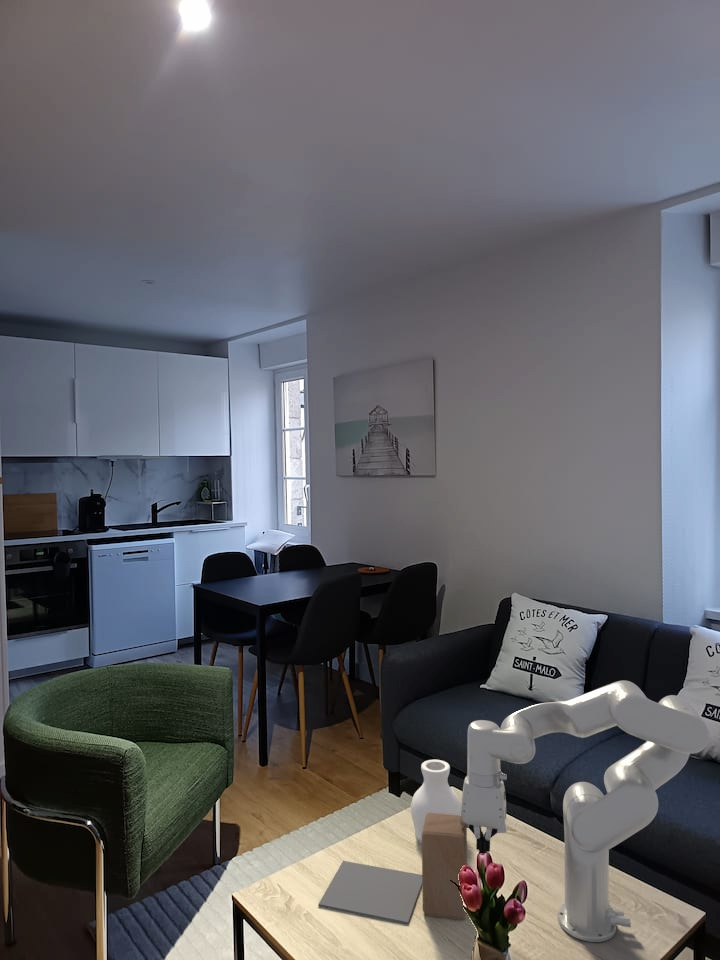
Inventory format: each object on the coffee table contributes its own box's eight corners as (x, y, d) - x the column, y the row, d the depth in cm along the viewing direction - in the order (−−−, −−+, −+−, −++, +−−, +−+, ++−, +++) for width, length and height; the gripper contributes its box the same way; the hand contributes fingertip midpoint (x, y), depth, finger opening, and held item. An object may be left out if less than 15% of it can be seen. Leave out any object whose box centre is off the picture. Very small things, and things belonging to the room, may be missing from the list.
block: (465, 922, 155) (464, 837, 154) (422, 917, 157) (421, 832, 156) (467, 894, 165) (466, 814, 164) (426, 889, 167) (425, 810, 166)
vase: (402, 827, 195) (401, 759, 194) (446, 817, 200) (445, 750, 199) (425, 854, 182) (424, 781, 181) (471, 842, 187) (470, 771, 186)
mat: (424, 877, 172) (424, 875, 171) (408, 924, 154) (407, 922, 154) (343, 862, 178) (343, 860, 178) (318, 906, 161) (318, 904, 161)
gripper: (517, 773, 158) (517, 849, 159) (454, 764, 163) (454, 838, 163) (515, 788, 151) (514, 868, 152) (449, 778, 155) (448, 856, 156)
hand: (483, 852), depth 157 cm, fingers closed
